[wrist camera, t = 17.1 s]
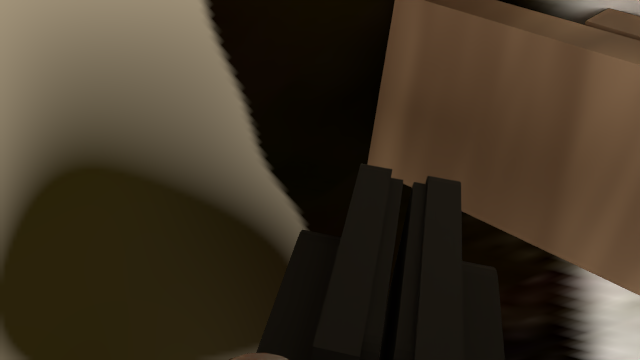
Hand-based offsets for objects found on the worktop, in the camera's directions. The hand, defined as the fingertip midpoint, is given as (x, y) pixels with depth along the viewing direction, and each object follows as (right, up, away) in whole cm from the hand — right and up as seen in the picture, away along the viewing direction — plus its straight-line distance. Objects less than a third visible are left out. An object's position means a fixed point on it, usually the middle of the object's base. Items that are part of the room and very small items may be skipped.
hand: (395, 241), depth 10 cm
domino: (+1, +4, +6) cm, 7 cm away
